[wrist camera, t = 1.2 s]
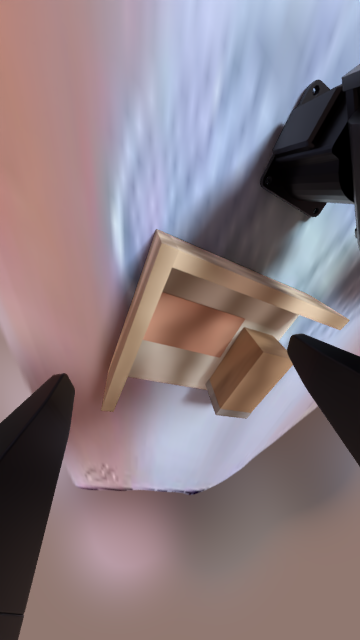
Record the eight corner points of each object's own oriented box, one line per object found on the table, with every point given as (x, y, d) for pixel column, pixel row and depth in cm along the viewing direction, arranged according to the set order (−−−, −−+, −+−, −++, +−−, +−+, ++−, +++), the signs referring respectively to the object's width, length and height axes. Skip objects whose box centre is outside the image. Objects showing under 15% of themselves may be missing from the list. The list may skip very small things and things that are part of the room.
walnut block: (273, 335, 25) (296, 361, 22) (232, 389, 30) (246, 418, 26) (243, 326, 24) (263, 352, 20) (205, 384, 28) (215, 414, 24)
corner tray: (309, 295, 24) (349, 320, 19) (234, 391, 31) (250, 426, 26) (156, 229, 17) (161, 242, 13) (108, 369, 25) (100, 410, 20)
